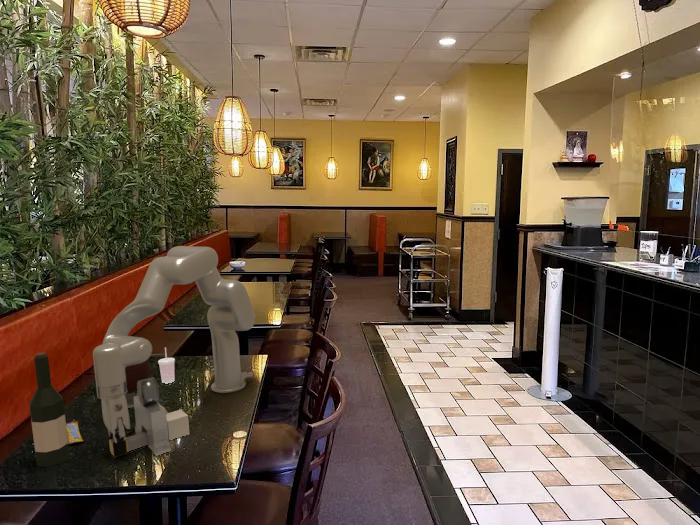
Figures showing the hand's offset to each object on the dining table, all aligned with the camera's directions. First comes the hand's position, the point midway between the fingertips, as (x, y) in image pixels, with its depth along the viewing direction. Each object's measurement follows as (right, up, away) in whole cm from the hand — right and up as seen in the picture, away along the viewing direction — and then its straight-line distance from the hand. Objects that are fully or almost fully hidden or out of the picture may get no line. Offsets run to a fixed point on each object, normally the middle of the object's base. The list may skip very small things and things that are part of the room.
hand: (118, 451), depth 143 cm
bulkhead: (+7, 0, +6) cm, 9 cm away
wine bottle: (-17, -2, -2) cm, 17 cm away
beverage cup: (-5, +6, +55) cm, 55 cm away
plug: (+7, 0, +6) cm, 9 cm away
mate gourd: (-13, +4, +37) cm, 39 cm away
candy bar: (-19, 0, +13) cm, 23 cm away
